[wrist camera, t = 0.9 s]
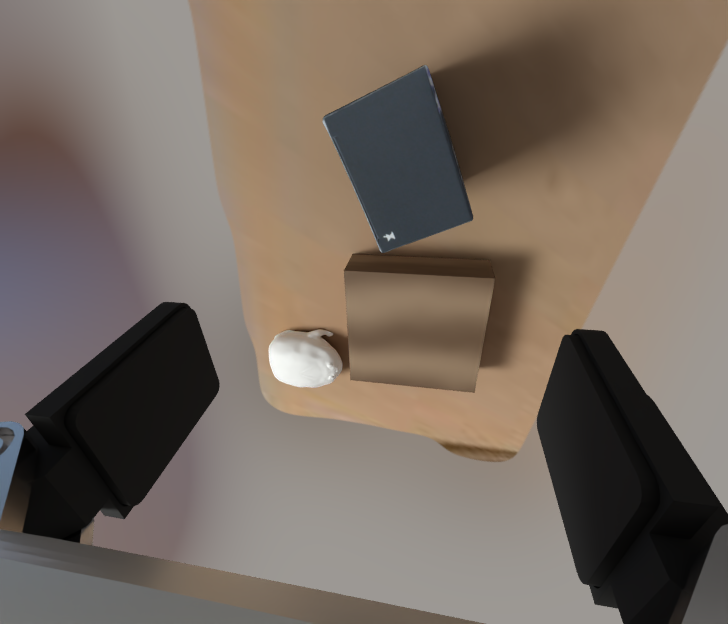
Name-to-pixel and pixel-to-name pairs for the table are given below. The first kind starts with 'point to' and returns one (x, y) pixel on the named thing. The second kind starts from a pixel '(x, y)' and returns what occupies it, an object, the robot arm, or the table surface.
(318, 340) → the garlic
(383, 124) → the box
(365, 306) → the walnut block
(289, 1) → the table surface
